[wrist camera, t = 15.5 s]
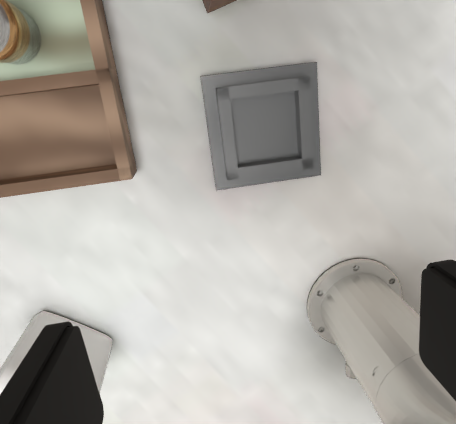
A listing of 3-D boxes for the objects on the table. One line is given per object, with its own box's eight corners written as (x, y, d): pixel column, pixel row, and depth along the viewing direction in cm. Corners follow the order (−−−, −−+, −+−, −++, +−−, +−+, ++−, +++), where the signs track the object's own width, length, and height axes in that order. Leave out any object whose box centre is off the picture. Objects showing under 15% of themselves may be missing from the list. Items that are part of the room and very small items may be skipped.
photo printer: (119, 336, 47) (97, 419, 35) (104, 361, 48) (77, 449, 36) (40, 303, 44) (-12, 380, 32) (26, 330, 45) (-30, 415, 33)
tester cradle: (317, 173, 43) (325, 178, 40) (215, 188, 42) (217, 193, 40) (313, 62, 39) (321, 60, 36) (200, 76, 38) (201, 75, 36)
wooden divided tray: (136, 170, 40) (132, 178, 37) (-27, 193, 39) (-49, 204, 36) (94, -37, 34) (83, -52, 30) (-103, -16, 33) (-139, -29, 29)
